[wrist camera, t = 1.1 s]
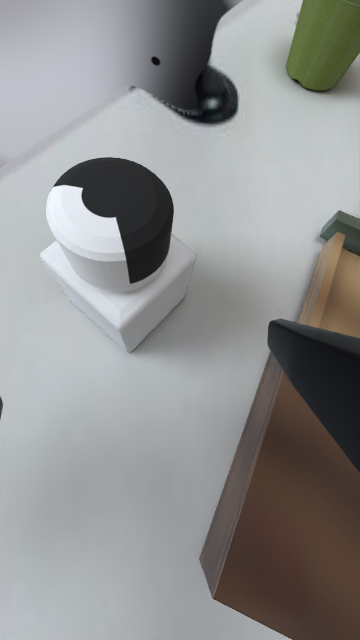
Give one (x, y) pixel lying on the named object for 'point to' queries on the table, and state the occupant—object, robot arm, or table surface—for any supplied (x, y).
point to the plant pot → (324, 42)
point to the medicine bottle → (117, 247)
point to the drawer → (336, 279)
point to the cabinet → (288, 522)
